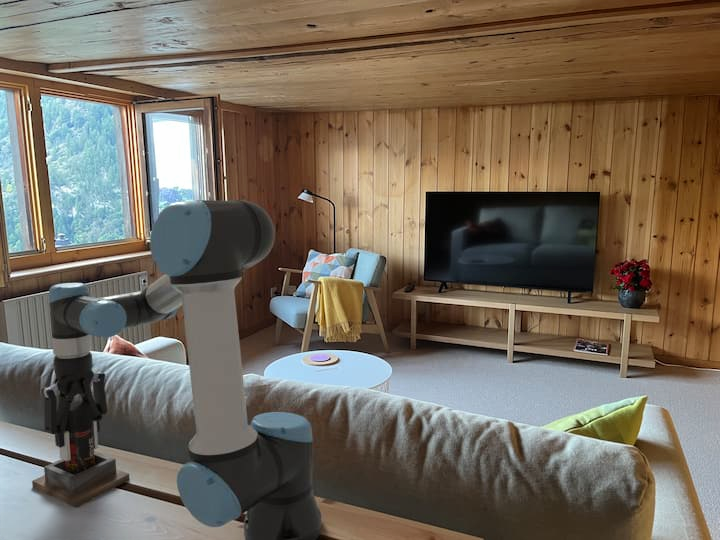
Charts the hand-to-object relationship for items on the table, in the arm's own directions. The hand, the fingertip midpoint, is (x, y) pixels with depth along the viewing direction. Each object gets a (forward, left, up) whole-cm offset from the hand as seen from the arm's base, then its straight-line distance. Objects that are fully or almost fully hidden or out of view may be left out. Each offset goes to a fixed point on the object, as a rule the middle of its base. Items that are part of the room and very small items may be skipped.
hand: (79, 452), depth 123 cm
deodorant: (0, 0, -4) cm, 4 cm away
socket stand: (0, 0, -7) cm, 7 cm away
